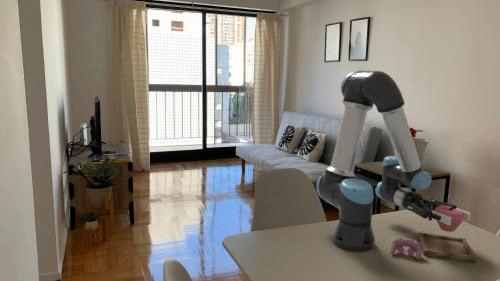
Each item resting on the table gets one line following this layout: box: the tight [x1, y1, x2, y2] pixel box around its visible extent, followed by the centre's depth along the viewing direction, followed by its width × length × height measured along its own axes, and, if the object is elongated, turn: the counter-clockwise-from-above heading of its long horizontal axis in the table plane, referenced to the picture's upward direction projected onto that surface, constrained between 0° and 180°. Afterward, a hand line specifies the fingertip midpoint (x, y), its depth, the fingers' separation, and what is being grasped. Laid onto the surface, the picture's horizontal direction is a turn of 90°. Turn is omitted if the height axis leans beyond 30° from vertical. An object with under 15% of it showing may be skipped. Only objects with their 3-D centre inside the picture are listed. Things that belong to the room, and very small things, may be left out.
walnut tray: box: [418, 232, 477, 264], centre depth 138 cm, size 16×16×2 cm
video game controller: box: [390, 237, 422, 261], centre depth 133 cm, size 10×5×7 cm, turn 66°
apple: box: [433, 205, 464, 233], centre depth 137 cm, size 10×9×10 cm
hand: (459, 219), depth 133 cm, fingers closed on apple, 9 cm apart
